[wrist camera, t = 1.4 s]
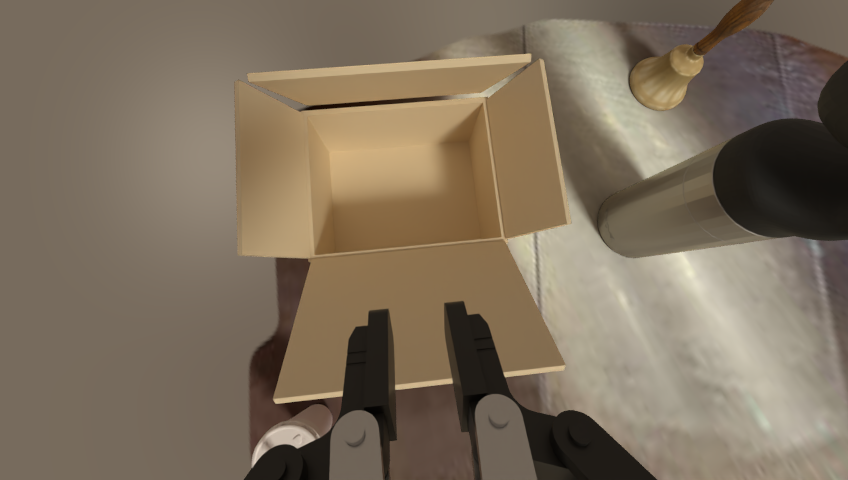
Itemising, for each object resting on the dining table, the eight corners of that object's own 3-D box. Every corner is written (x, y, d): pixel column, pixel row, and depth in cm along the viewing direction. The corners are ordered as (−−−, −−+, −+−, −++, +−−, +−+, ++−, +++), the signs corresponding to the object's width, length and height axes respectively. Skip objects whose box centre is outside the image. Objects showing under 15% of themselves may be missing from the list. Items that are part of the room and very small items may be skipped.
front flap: (480, 92, 35) (480, 86, 35) (531, 61, 22) (531, 51, 22) (307, 105, 34) (306, 99, 34) (248, 82, 21) (246, 71, 21)
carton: (498, 136, 46) (563, 18, 26) (525, 329, 42) (627, 364, 22) (297, 152, 44) (204, 42, 25) (307, 353, 41) (205, 413, 21)
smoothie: (283, 403, 40) (214, 464, 26) (334, 384, 40) (293, 433, 26) (298, 457, 39) (235, 550, 25) (350, 437, 39) (316, 517, 26)
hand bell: (696, 91, 48) (836, -7, 32) (654, 121, 47) (777, 36, 31) (659, 48, 49) (777, -67, 33) (617, 77, 48) (718, -27, 32)
